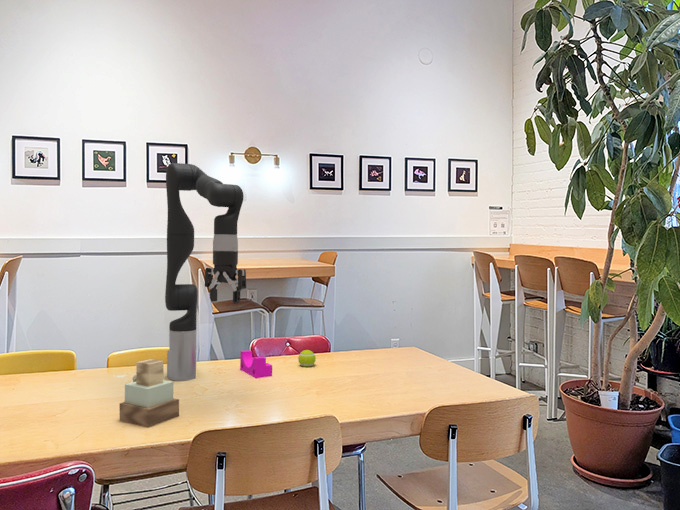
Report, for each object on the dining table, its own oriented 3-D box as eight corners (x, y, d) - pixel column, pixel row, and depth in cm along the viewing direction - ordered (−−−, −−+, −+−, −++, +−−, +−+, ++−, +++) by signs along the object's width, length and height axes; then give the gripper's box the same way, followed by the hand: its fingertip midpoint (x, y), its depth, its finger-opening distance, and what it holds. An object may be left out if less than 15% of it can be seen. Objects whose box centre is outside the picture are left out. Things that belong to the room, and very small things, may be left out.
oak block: (136, 383, 157) (136, 362, 157) (150, 380, 162) (150, 358, 161) (148, 386, 155) (149, 364, 155) (163, 382, 159) (163, 361, 159)
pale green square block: (124, 402, 157) (124, 384, 157) (150, 394, 165) (150, 377, 165) (147, 407, 152) (147, 389, 152) (173, 399, 160) (173, 381, 160)
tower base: (119, 421, 156) (119, 403, 156) (150, 411, 166) (150, 393, 166) (149, 428, 151) (149, 409, 151) (178, 417, 161) (179, 399, 161)
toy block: (272, 377, 207) (272, 356, 206) (255, 379, 203) (256, 358, 203) (255, 369, 219) (255, 349, 219) (240, 370, 216) (240, 351, 216)
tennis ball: (314, 369, 219) (315, 352, 219) (297, 369, 220) (297, 351, 219) (315, 365, 226) (316, 348, 226) (298, 365, 226) (299, 348, 226)
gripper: (199, 249, 176) (198, 302, 176) (236, 250, 169) (235, 305, 170) (215, 248, 182) (214, 299, 183) (251, 249, 176) (251, 302, 176)
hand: (225, 302), depth 176 cm, fingers open, 8 cm apart
